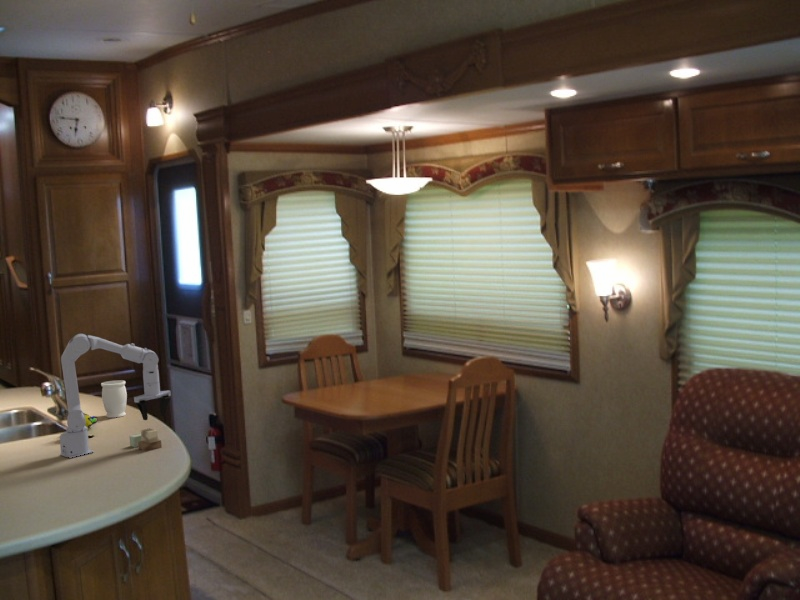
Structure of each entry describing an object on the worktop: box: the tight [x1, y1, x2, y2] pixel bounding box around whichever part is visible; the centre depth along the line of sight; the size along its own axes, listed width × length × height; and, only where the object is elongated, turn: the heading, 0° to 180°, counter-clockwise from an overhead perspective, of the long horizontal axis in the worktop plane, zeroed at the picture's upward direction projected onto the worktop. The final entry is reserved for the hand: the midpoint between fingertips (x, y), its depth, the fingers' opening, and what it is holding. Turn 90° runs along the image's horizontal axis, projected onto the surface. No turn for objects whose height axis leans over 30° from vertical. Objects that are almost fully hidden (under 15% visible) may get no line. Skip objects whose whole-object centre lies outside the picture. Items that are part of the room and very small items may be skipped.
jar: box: [100, 379, 128, 419], centre depth 395 cm, size 11×10×15 cm
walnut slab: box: [138, 438, 163, 452], centre depth 336 cm, size 7×5×3 cm
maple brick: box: [140, 428, 159, 443], centre depth 336 cm, size 6×4×4 cm, turn 43°
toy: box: [83, 412, 98, 437], centre depth 369 cm, size 9×10×30 cm
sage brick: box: [129, 433, 142, 448], centre depth 342 cm, size 6×4×4 cm, turn 134°
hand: (154, 417), depth 342 cm, fingers open, 7 cm apart
